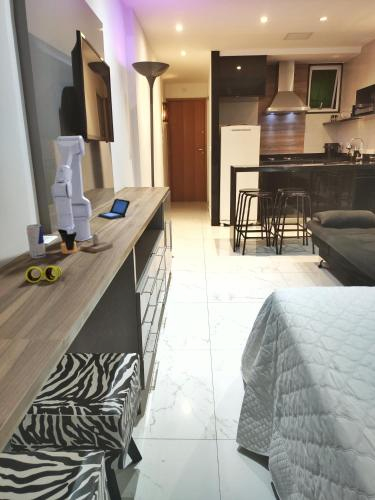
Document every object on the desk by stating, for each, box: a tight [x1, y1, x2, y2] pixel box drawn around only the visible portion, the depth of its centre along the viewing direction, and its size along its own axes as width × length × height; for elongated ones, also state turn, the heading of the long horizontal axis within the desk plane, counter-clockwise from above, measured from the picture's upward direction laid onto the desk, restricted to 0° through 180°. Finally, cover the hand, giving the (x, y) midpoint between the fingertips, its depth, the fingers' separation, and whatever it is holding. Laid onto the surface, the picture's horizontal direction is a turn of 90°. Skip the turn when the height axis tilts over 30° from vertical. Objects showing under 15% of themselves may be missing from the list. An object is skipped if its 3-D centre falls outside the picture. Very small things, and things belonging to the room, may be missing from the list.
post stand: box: [79, 233, 114, 253], centre depth 146 cm, size 9×9×6 cm
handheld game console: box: [98, 198, 131, 220], centre depth 212 cm, size 16×13×9 cm
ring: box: [60, 241, 78, 255], centre depth 143 cm, size 6×6×4 cm
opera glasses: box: [25, 265, 62, 284], centre depth 113 cm, size 10×5×5 cm, turn 96°
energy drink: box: [26, 223, 47, 259], centre depth 136 cm, size 5×5×12 cm
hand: (68, 248), depth 143 cm, fingers closed on ring, 6 cm apart
